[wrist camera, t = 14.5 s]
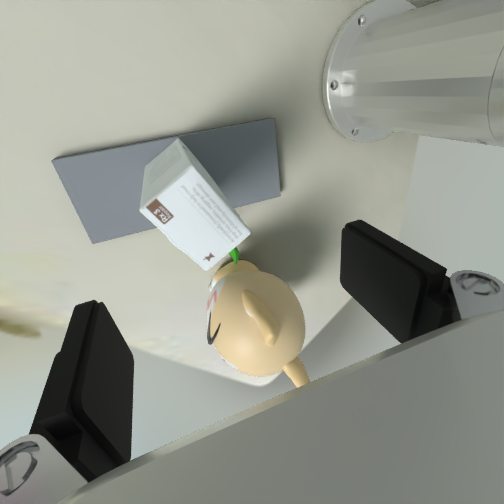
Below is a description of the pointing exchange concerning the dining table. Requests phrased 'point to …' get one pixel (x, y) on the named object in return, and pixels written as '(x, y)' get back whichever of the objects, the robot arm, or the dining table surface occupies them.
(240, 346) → the kitten
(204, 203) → the skincare box
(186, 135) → the mat
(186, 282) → the dining table surface
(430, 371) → the robot arm
